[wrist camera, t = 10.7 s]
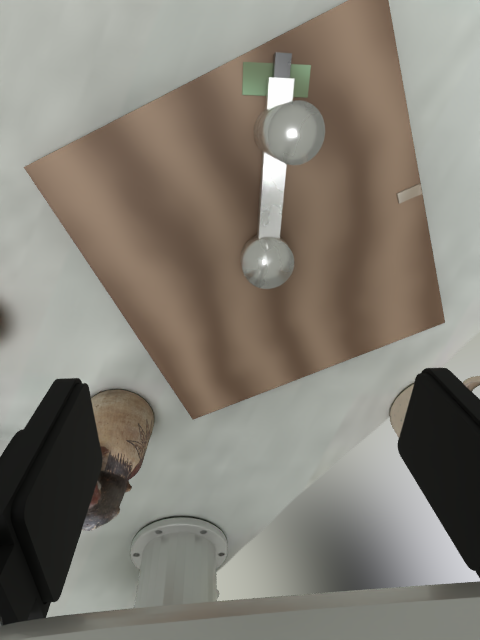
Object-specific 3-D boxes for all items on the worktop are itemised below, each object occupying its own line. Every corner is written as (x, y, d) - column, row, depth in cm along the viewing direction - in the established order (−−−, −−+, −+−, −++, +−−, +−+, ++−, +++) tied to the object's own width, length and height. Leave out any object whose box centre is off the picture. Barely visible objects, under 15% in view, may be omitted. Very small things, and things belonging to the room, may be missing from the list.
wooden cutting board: (193, 411, 39) (192, 420, 37) (31, 165, 27) (22, 167, 25) (437, 316, 35) (446, 323, 34) (376, -12, 23) (386, -20, 22)
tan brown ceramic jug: (89, 441, 39) (46, 557, 29) (77, 388, 36) (23, 497, 26) (157, 438, 40) (138, 551, 29) (151, 386, 37) (127, 492, 26)
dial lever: (287, 281, 31) (307, 321, 24) (239, 281, 30) (247, 321, 24) (312, 57, 23) (348, 33, 17) (249, 53, 23) (264, 27, 17)
